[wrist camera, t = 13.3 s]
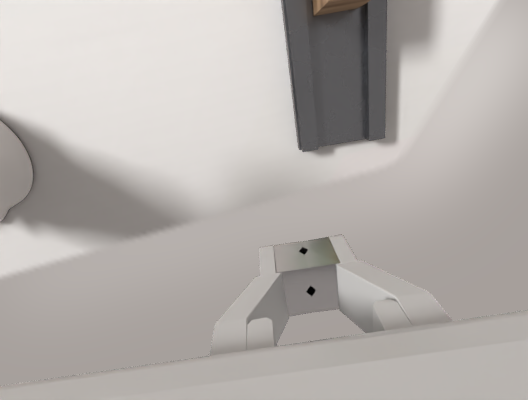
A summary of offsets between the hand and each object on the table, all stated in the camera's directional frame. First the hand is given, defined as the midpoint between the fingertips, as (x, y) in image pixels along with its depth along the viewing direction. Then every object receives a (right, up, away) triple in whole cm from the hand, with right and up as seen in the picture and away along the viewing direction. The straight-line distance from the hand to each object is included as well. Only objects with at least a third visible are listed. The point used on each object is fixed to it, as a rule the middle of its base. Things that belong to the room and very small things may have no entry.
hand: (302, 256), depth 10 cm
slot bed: (+7, +20, +23) cm, 31 cm away
